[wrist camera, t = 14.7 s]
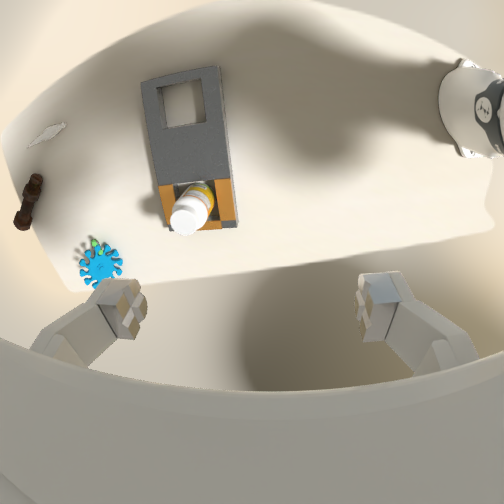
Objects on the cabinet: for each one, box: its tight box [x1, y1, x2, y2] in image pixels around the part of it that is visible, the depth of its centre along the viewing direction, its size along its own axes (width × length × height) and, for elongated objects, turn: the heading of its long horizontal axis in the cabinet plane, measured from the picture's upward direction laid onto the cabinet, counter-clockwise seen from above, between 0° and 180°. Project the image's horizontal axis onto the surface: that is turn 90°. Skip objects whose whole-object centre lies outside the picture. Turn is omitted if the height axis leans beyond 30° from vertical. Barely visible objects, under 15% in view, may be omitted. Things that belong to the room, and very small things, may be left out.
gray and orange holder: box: [141, 66, 238, 231], centre depth 39 cm, size 12×26×2 cm, turn 5°
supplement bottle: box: [170, 183, 216, 235], centre depth 40 cm, size 5×5×10 cm
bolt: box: [13, 174, 43, 231], centre depth 44 cm, size 6×5×15 cm
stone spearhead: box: [27, 123, 67, 148], centre depth 38 cm, size 15×3×2 cm, turn 99°
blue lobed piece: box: [79, 239, 123, 289], centre depth 51 cm, size 11×6×10 cm
